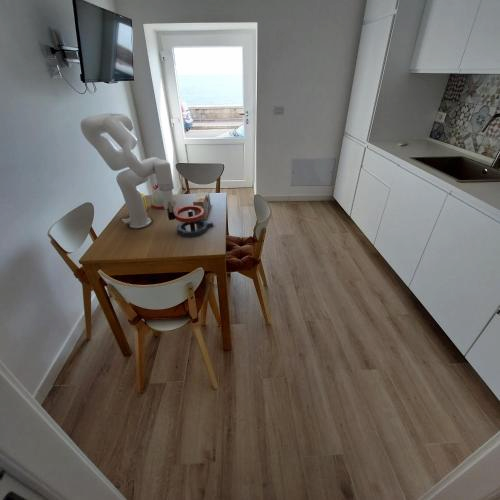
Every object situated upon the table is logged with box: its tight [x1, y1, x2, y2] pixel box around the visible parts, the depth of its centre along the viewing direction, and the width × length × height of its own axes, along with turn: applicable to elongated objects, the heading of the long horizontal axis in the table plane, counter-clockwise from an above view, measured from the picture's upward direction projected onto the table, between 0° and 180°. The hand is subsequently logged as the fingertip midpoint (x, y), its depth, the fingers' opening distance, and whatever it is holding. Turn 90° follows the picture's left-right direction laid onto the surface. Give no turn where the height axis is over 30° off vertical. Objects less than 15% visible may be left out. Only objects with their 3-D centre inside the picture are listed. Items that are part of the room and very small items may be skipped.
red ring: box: [167, 204, 205, 223], centre depth 148 cm, size 19×16×2 cm
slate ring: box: [177, 220, 214, 238], centre depth 154 cm, size 19×16×2 cm
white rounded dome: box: [151, 183, 165, 210], centre depth 179 cm, size 14×14×15 cm
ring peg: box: [184, 210, 202, 231], centre depth 151 cm, size 8×8×12 cm
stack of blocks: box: [192, 191, 211, 221], centre depth 168 cm, size 21×6×12 cm, turn 179°
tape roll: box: [141, 193, 149, 212], centre depth 175 cm, size 10×10×9 cm
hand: (171, 218), depth 147 cm, fingers closed on red ring, 2 cm apart
